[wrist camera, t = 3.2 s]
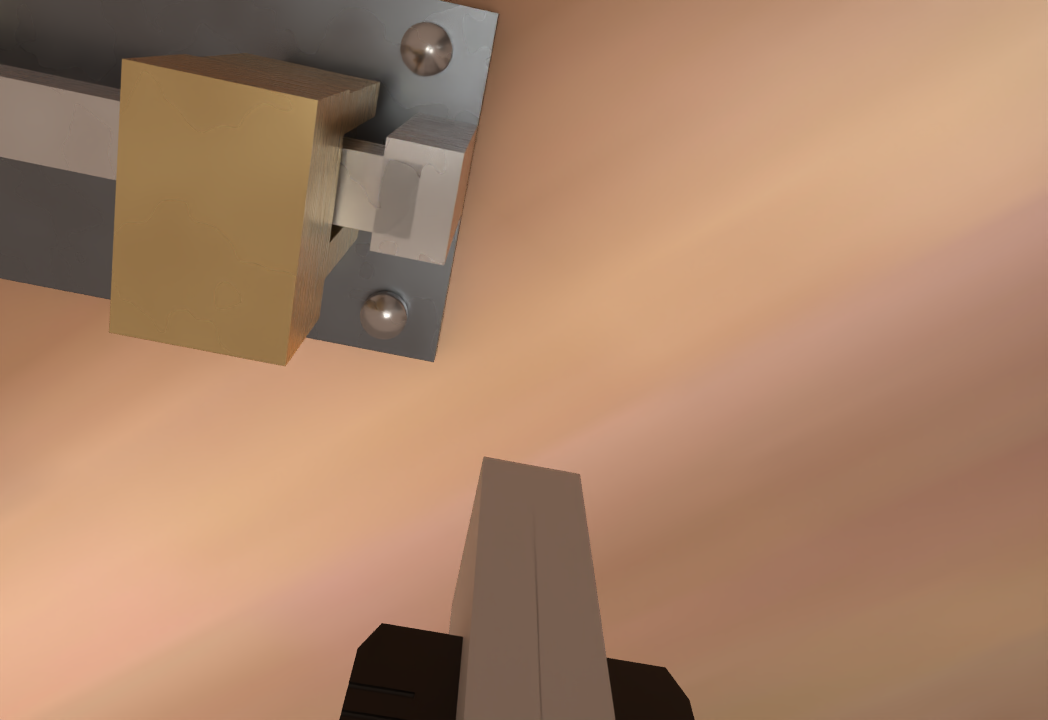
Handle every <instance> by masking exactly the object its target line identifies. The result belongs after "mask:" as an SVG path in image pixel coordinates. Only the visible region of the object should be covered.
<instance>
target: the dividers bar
mask: <svg viewBox="0 0 1048 720" xmlns="http://www.w3.org/2000/svg"><path fill="white" fill-rule="evenodd" d="M120 91H121V89H117V88H112V87H108V86H103V85H98V84H93V83H89V82H84V81H79V80H74V79H70V78H65V77H60V76H55V75H51V74H46V73H41V72H36V71H32V70H27V69H22V68H17V67H13V66H8V65H3V64H0V157H4V158H9V159H14V160H19V161H24V162H28V163H33V164H38V165H43V166H48V167H53V168H58V169H63V170H68V171H73V172H78V173H83V174H88V175H92V176H97V177H102V178H107V179H112V180H116V175H117V154H118V133H119V112H120ZM477 126H478V125H473V124H469V123H464V122H459V121H455V120H450V119H445V118H441V117H436V116H431V115H427V114H422V113H416V114H415V115H414V116H413V117H411V118H410V119H409V120H408V121H406V122H405V123H404V124H402V125H401V126H400V127H399V128H397V129H396V130H395V131H394V132H392V133H391V134H390V135H389V136H387V138H386V145H383V144H378V143H374V142H369V141H364V140H359V139H355V138H350V137H345V136H344V137H343V145H342V152H341V160H340V167H339V175H338V182H337V190H336V197H335V205H334V212H333V220H332V224H334V225H339V226H344V227H348V228H353V229H358V230H363V231H368V232H372V238H371V244H370V251H374V252H379V253H384V254H389V255H394V256H399V257H404V258H409V259H414V260H419V261H424V262H429V263H434V264H439V265H444V264H445V261H446V258H447V255H448V252H449V249H450V246H451V243H452V240H453V237H454V234H455V231H456V228H457V225H458V222H459V219H460V216H461V213H462V207H463V202H464V197H465V191H466V186H467V180H468V175H469V170H470V164H471V159H472V153H473V148H474V142H475V137H476V132H477Z"/></svg>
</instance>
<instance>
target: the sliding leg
mask: <svg viewBox="0 0 1048 720" xmlns="http://www.w3.org/2000/svg"><path fill="white" fill-rule="evenodd" d="M379 88H380V82H378V81H373V80H369V79H364V78H360V77H355V76H350V75H346V74H341V73H336V72H332V71H327V70H322V69H318V68H313V67H308V66H304V65H299V64H295V63H290V62H285V61H281V60H276V59H271V58H267V57H262V56H257V55H253V54H248V53H240V54H228V55H217V56H205V57H197V56H192V55H188V54H178V55H165V56H151V57H138V58H125V59H122V70H121V91H120V112H119V133H118V154H117V175H116V196H115V218H114V239H113V260H112V281H111V302H110V323H109V333H114V334H119V335H124V336H130V337H135V338H140V339H145V340H151V341H156V342H161V343H166V344H172V345H177V346H182V347H187V348H193V349H198V350H203V351H208V352H214V353H219V354H224V355H229V356H234V357H240V358H245V359H250V360H255V361H261V362H266V363H271V364H276V365H282V366H286V365H287V363H288V362H289V360H290V359H291V358H292V356H293V355H294V353H295V352H296V351H297V349H298V348H299V346H300V345H301V343H302V342H303V341H304V339H305V338H306V336H307V335H308V334H309V332H310V331H311V329H312V328H313V326H314V325H315V324H316V322H317V321H318V319H319V317H320V309H321V302H322V294H323V287H324V279H325V278H326V277H327V276H328V274H329V273H330V272H331V271H332V269H333V268H334V267H335V265H336V264H337V263H338V262H339V260H340V259H341V258H342V257H343V255H344V254H345V253H346V252H347V250H348V249H349V248H350V247H351V245H352V244H353V243H354V242H355V240H356V239H357V238H358V232H359V230H358V229H353V228H348V227H344V226H339V225H334V224H332V220H333V212H334V205H335V197H336V190H337V182H338V175H339V167H340V160H341V152H342V145H343V137H344V134H346V133H347V132H349V131H351V130H352V129H354V128H356V127H357V126H359V125H361V124H363V123H364V122H366V121H368V120H369V119H371V118H373V117H374V116H375V115H376V108H377V101H378V95H379Z"/></svg>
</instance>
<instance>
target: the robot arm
mask: <svg viewBox="0 0 1048 720" xmlns="http://www.w3.org/2000/svg"><path fill="white" fill-rule="evenodd" d="M339 720H694V716H693V712H692V708H691V704H690V700H689V699H688V697H687V696H686V695H685V693H684V692H683V691H682V689H681V688H680V687H679V685H678V684H677V682H676V681H675V680H674V678H673V677H672V676H671V674H670V673H669V672H668V670H667V669H666V668H665V667H659V666H653V665H647V664H641V663H635V662H629V661H623V660H617V659H611V658H606V651H605V644H604V637H603V631H602V624H601V617H600V610H599V603H598V596H597V589H596V582H595V575H594V568H593V561H592V554H591V548H590V541H589V534H588V527H587V520H586V513H585V506H584V499H583V492H582V485H581V478H580V474H576V473H571V472H565V471H560V470H554V469H549V468H543V467H538V466H532V465H527V464H521V463H516V462H510V461H505V460H500V459H494V458H489V457H484V458H483V462H482V467H481V472H480V476H479V481H478V486H477V490H476V495H475V500H474V504H473V509H472V514H471V518H470V523H469V528H468V532H467V537H466V542H465V546H464V551H463V556H462V560H461V565H460V570H459V574H458V579H457V584H456V588H455V593H454V598H453V603H452V609H451V618H450V627H449V634H444V633H438V632H432V631H426V630H420V629H414V628H408V627H402V626H396V625H390V624H384V623H382V624H381V625H380V626H379V627H378V628H377V629H376V630H375V631H374V632H373V633H372V634H371V635H370V636H369V637H368V638H367V639H366V640H365V641H364V642H363V643H362V645H361V646H360V647H359V648H358V649H357V653H356V657H355V661H354V665H353V669H352V673H351V676H350V680H349V685H348V688H347V692H346V696H345V700H344V704H343V708H342V712H341V716H340V719H339Z"/></svg>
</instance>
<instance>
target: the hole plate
mask: <svg viewBox="0 0 1048 720" xmlns="http://www.w3.org/2000/svg"><path fill="white" fill-rule="evenodd" d="M498 17H499V14H498V13H493V12H489V11H485V10H480V9H476V8H471V7H467V6H462V5H458V4H453V3H449V2H444V1H440V0H0V64H3V65H8V66H13V67H17V68H22V69H27V70H32V71H36V72H41V73H46V74H51V75H55V76H60V77H65V78H70V79H74V80H79V81H84V82H89V83H93V84H98V85H103V86H108V87H112V88H117V89H121V70H122V59H125V58H138V57H151V56H165V55H178V54H188V55H192V56H197V57H205V56H217V55H228V54H240V53H248V54H253V55H257V56H262V57H267V58H271V59H276V60H281V61H285V62H290V63H295V64H299V65H304V66H308V67H313V68H318V69H322V70H327V71H332V72H336V73H341V74H346V75H350V76H355V77H360V78H364V79H369V80H373V81H378V82H380V88H379V95H378V101H377V108H376V115H375V116H374V117H373V118H371V119H369V120H368V121H366V122H364V123H363V124H361V125H359V126H357V127H356V128H354V129H352V130H351V131H349V132H347V133H346V134H344V136H345V137H350V138H355V139H359V140H364V141H369V142H374V143H378V144H383V145H386V138H387V136H389V135H390V134H391V133H392V132H394V131H395V130H396V129H397V128H399V127H400V126H401V125H402V124H404V123H405V122H406V121H408V120H409V119H410V118H411V117H413V116H414V115H415V114H416V113H422V114H427V115H431V116H436V117H441V118H445V119H450V120H455V121H459V122H464V123H469V124H473V125H478V126H479V120H480V115H481V109H482V104H483V99H484V93H485V88H486V82H487V77H488V72H489V66H490V61H491V55H492V50H493V44H494V39H495V34H496V28H497V23H498ZM478 126H477V131H478ZM476 136H477V132H476ZM475 142H476V137H475ZM475 142H474V147H475ZM473 153H474V148H473ZM473 153H472V158H473ZM471 163H472V159H471ZM470 169H471V164H470ZM469 174H470V170H469ZM468 180H469V175H468ZM468 180H467V185H468ZM466 190H467V186H466ZM115 196H116V180H112V179H107V178H102V177H97V176H92V175H88V174H83V173H78V172H73V171H68V170H63V169H58V168H53V167H48V166H43V165H38V164H33V163H28V162H24V161H19V160H14V159H9V158H4V157H0V278H2V279H7V280H12V281H17V282H22V283H27V284H33V285H38V286H43V287H48V288H53V289H58V290H64V291H69V292H74V293H79V294H84V295H89V296H95V297H100V298H105V299H110V300H111V281H112V260H113V239H114V218H115ZM465 196H466V191H465ZM464 201H465V197H464ZM463 207H464V202H463ZM463 207H462V212H463ZM461 217H462V213H461V216H460V219H459V222H458V225H457V228H456V231H455V234H454V237H453V240H452V243H451V246H450V249H449V252H448V255H447V258H446V261H445V264H444V265H439V264H434V263H429V262H424V261H419V260H414V259H409V258H404V257H399V256H394V255H389V254H384V253H379V252H374V251H370V244H371V238H372V232H368V231H363V230H359V232H358V238H357V239H356V240H355V242H354V243H353V244H352V245H351V247H350V248H349V249H348V250H347V252H346V253H345V254H344V255H343V257H342V258H341V259H340V260H339V262H338V263H337V264H336V265H335V267H334V268H333V269H332V271H331V272H330V273H329V274H328V276H327V277H326V278H325V279H324V287H323V294H322V302H321V309H320V317H319V319H318V321H317V322H316V324H315V325H314V326H313V328H312V329H311V331H310V332H309V334H308V335H307V336H306V338H312V339H317V340H322V341H327V342H332V343H337V344H343V345H348V346H353V347H358V348H363V349H368V350H374V351H379V352H384V353H389V354H394V355H399V356H405V357H410V358H415V359H420V360H425V361H431V362H434V360H435V356H436V353H437V347H438V342H439V336H440V331H441V326H442V320H443V315H444V309H445V304H446V298H447V293H448V288H449V282H450V277H451V271H452V266H453V261H454V255H455V250H456V244H457V239H458V234H459V228H460V223H461Z"/></svg>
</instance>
